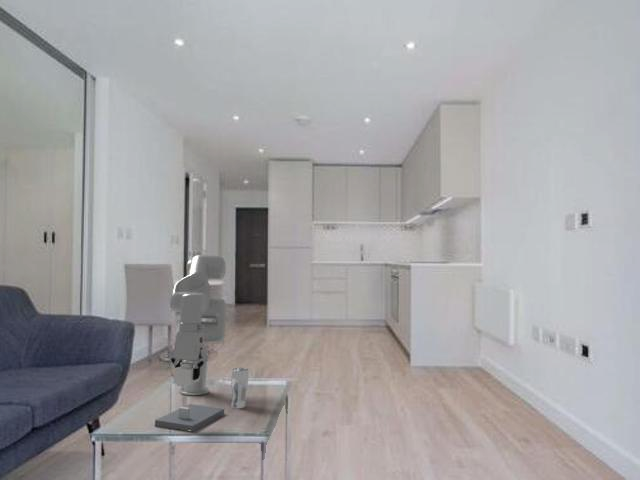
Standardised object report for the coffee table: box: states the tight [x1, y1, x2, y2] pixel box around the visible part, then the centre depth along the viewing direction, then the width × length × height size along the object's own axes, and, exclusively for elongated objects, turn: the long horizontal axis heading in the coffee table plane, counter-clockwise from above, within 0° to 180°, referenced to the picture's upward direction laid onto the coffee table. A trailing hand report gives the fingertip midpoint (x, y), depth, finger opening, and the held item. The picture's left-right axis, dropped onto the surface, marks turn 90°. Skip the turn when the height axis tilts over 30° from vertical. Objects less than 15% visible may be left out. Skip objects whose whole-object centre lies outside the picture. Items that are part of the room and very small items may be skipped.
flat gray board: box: [154, 403, 225, 432], centre depth 165 cm, size 15×22×6 cm
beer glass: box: [230, 367, 250, 410], centre depth 184 cm, size 7×7×15 cm
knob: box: [172, 361, 200, 385], centre depth 162 cm, size 7×7×7 cm
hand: (186, 377), depth 162 cm, fingers closed on knob, 6 cm apart
